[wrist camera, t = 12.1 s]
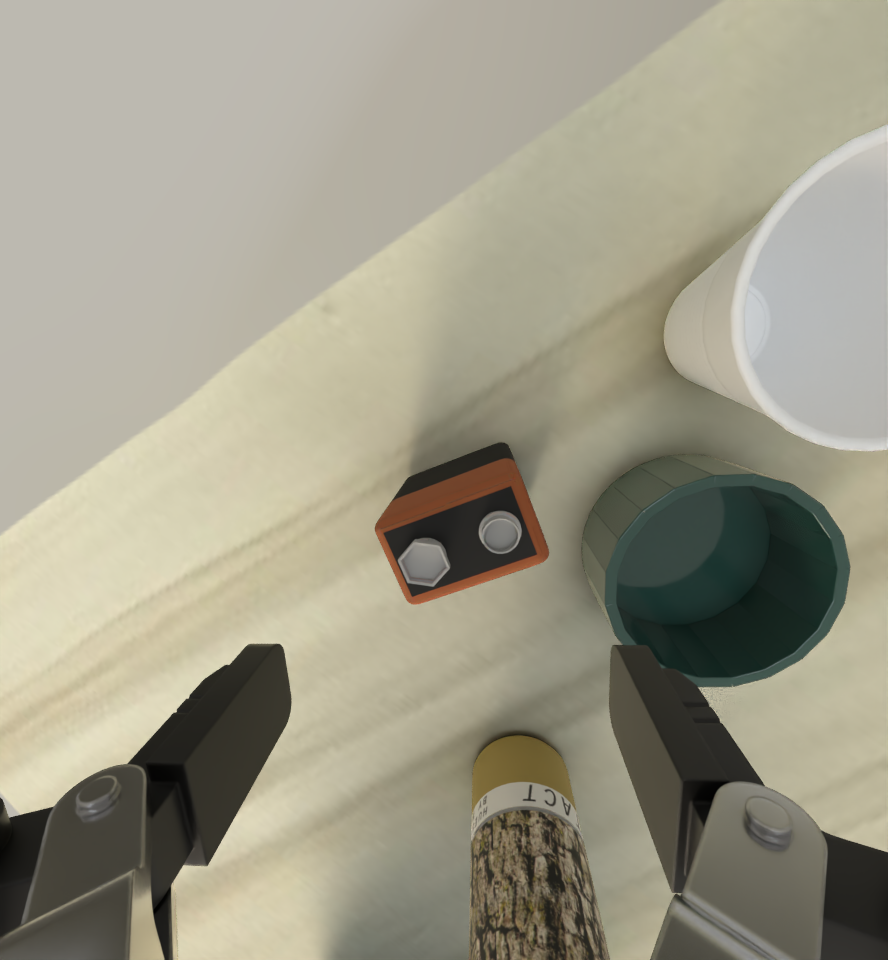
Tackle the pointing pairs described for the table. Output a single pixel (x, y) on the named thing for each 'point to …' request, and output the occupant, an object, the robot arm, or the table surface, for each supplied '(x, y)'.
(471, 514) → the battery
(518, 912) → the paper tube
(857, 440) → the cup
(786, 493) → the green round bowl
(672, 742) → the robot arm
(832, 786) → the table surface
